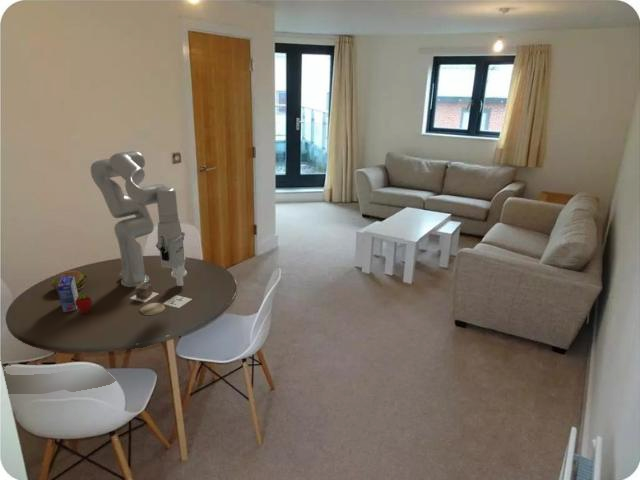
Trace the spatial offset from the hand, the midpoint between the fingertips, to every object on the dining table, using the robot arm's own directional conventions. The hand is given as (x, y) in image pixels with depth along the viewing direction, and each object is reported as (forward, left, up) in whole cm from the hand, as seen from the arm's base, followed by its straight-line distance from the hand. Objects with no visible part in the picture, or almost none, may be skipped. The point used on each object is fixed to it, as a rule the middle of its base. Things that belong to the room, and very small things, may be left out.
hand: (172, 256), depth 186 cm
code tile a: (0, 0, -22) cm, 22 cm away
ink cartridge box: (-39, -22, -22) cm, 50 cm away
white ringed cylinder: (-10, +14, -22) cm, 28 cm away
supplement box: (0, 0, -4) cm, 4 cm away
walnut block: (-17, -2, -22) cm, 27 cm away
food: (-54, -10, -22) cm, 59 cm away
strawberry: (-28, -24, -22) cm, 43 cm away
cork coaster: (-5, -10, -22) cm, 24 cm away
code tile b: (-17, -2, -22) cm, 28 cm away
